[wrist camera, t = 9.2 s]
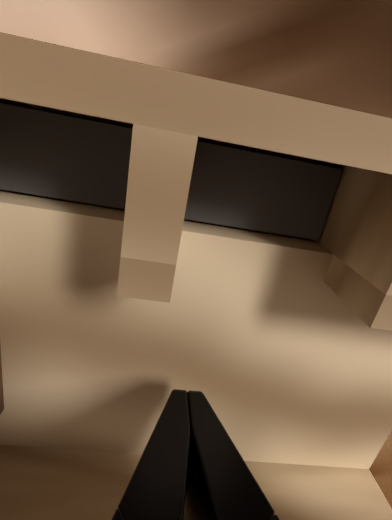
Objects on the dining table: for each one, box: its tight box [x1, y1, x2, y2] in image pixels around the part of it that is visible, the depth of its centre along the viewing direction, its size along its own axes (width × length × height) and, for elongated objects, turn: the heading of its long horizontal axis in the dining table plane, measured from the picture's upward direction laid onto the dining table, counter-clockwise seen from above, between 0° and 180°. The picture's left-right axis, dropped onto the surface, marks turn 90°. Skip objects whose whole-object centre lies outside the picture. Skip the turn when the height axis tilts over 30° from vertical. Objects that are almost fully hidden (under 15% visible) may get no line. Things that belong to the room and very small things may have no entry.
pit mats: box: [0, 103, 343, 240], centre depth 8 cm, size 2×9×1 cm, turn 80°
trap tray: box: [0, 32, 392, 520], centre depth 8 cm, size 12×19×3 cm, turn 80°
